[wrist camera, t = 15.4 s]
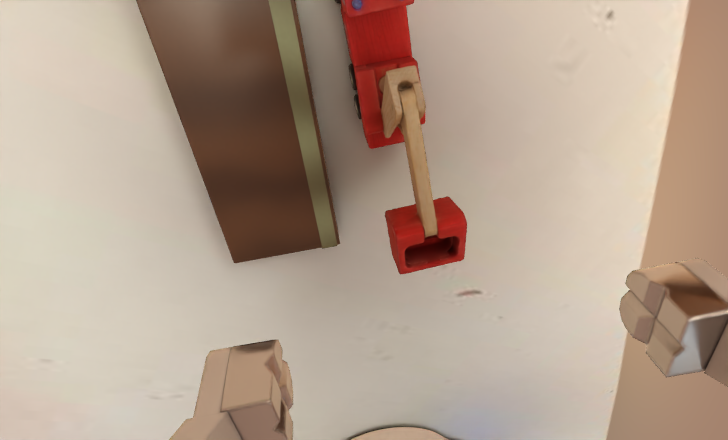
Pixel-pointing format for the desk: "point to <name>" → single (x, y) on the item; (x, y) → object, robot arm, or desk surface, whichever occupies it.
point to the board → (248, 119)
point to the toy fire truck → (399, 129)
